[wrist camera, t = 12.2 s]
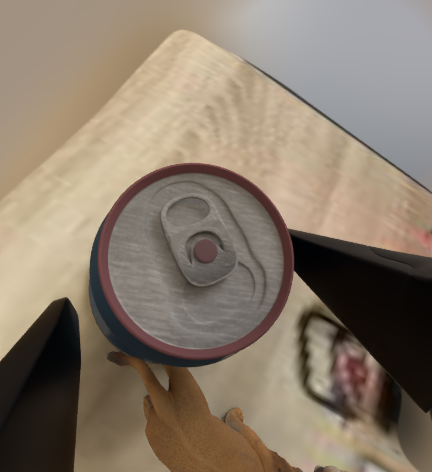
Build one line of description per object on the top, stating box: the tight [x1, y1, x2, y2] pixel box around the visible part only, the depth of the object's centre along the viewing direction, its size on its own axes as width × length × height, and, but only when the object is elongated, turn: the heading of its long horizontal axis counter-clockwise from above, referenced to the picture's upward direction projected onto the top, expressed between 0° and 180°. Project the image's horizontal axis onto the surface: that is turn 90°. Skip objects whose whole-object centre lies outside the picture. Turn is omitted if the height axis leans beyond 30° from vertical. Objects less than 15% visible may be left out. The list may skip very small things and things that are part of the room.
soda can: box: [90, 163, 294, 367], centre depth 12 cm, size 7×7×12 cm
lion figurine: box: [107, 351, 346, 472], centre depth 12 cm, size 15×5×9 cm, turn 58°
